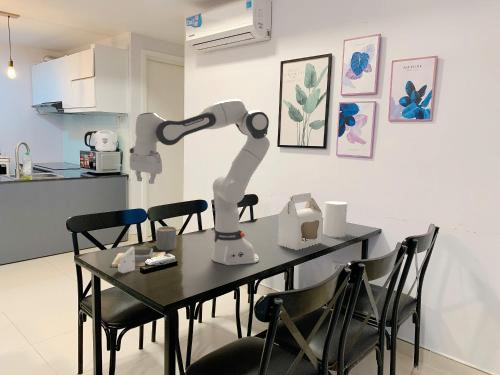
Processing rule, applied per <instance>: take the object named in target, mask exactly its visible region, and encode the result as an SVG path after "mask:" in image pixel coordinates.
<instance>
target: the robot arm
mask: <svg viewBox="0 0 500 375" xmlns="http://www.w3.org/2000/svg"><path fill="white" fill-rule="evenodd" d="M231 125H235V126H236V128H237V129H238V131H239V132H240V133H241V134H243V135H245V136H247V137H246V142H245V144H244V145H243V146H242V148H241V149H240V150H239V152H238V154H236V156H235V158H234V159H233V161H232V162H231V166H230V169H229V170H228V173H227V175H226V176H225V175H223V176H219V177H217V178H216V179H215V180H214V182H212V183H213V184H212V192H213V201H214V202H213V203H214V211H215V213H214V214H215V222H214V224H215V228H214V232H213V241H214V245H213V251H212V255H211V260H212V261H213V262H215V263H219V264H223V265H225V266H237V265H246V264H255V263H256V262H257V263H258V262H259V261H260V257H259V255H258V254H257V253H255V249H254V246H253V245H252V243H250V242H249V241H248V240H247V239H246V238H245V236H246V234H245V232H243V231H242V230H241V229H240V212H239V208H238V203H241V201H242V200H243V199H244V197H245V195H246V190H247V187H248V185H249V183H250V181H251V178H252V177H253V175H254V173H255V172H256V170H257V169H258V167H259V165H260V164H261V163H262V161H263V160H264V158H265V156H266V155H267V152H268V150H269V149H270V146H271V143H270V141H269V139H268V137H267V135H268V129H269V125H270V120H269V117H268V115H267V114H266V113H265V112H263V111H261V110H251V111H248V110H247V109H246V106H245V104H244V102H243V101H241V100H240V99H237V98H235V99H228V100H223V101H220V102H216V103H213V104H212V105H209V106H208V107H206V108H204V109H203V110H202V111H201V112H200V113H199V114H197V115H194V116H192V117H188V118H186V119H183V120H177V121H176V120H167V119H164V118H162V117H160V116H159V115H157V113H155V112H145V113H140V114H139V115H138V116H137V117H136V120H135V137H136V139H135V145H133V146H132V147H130V148H129V149H128V152H129V154H130V155H129V168H130V170H131V171H135V173H134V174H135V175H136V176H135V177H136V181H137V182H143V177H142V173H146V174H147V173H148V174H149V176H150V178H149V179H148V184H151V185H154V184H155V179H156V177H157V175H161V174H162V172H163V163H162V162H163V160H162V157H161V154H160V153H159V151H157V146H158V145H157V143H158V142H160V143H162V145H165V146H174V145H176V144H177V143H178V142H180V140H182V139H183V138H184V137H185V136H188V135H191V134H193V133H196V132H199V131H203V130H216V129H222V128H226V127H228V126H231Z"/></svg>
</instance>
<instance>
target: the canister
mask: <svg viewBox="0 0 500 375" xmlns="http://www.w3.org/2000/svg"><path fill="white" fill-rule="evenodd" d="M323 203H324V204H323V217H322V222H323V223H322V235H323V234H325V235H328V236H335V237H334V238H336V237H339V238H342V237H341V236H344V237H346V228H347V226H346V225H347V212H348V202H347V201H341V200H325V201H324V202H323ZM325 235H324V236H325ZM328 236H327V237H328Z"/></svg>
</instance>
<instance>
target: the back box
mask: <svg viewBox="0 0 500 375" xmlns="http://www.w3.org/2000/svg"><path fill="white" fill-rule="evenodd" d="M153 252H154V248H135V255H137V254H149V256H135V262H145V261H146V260H147V259H151V258H152V255H153Z"/></svg>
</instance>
